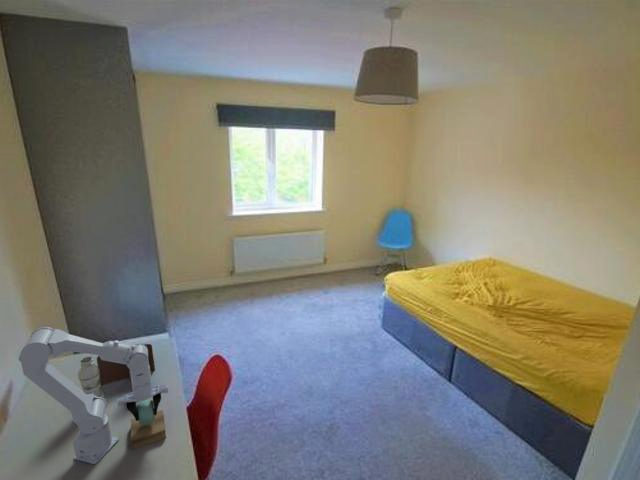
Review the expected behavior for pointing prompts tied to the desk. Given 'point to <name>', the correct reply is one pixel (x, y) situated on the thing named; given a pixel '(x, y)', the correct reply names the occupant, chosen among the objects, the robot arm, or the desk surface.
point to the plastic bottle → (90, 377)
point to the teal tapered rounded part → (145, 412)
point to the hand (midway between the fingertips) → (146, 415)
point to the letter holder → (119, 368)
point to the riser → (147, 431)
